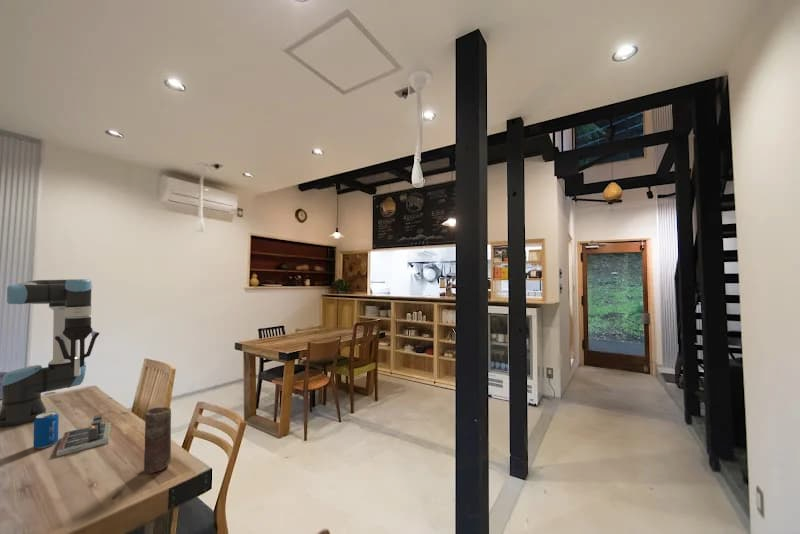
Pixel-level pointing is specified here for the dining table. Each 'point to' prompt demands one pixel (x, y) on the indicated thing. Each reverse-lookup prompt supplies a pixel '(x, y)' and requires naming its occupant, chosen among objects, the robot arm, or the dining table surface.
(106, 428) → the panel
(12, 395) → the robot arm
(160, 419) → the candle
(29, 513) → the dining table surface
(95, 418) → the breaker
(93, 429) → the breaker
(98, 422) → the block
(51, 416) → the beverage can
